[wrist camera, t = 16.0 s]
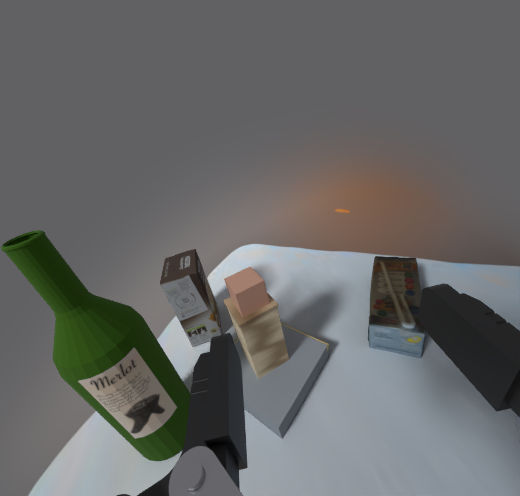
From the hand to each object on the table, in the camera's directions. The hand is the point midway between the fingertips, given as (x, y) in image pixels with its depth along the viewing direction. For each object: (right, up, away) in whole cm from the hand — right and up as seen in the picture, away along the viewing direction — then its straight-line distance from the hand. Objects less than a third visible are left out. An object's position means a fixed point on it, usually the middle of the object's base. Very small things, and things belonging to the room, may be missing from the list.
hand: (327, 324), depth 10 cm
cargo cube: (-4, -4, +24) cm, 25 cm away
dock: (-1, -17, +31) cm, 36 cm away
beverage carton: (+22, -9, +37) cm, 44 cm away
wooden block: (-2, -14, +30) cm, 34 cm away
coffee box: (-14, -14, +43) cm, 47 cm away
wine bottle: (-16, -24, +27) cm, 39 cm away
